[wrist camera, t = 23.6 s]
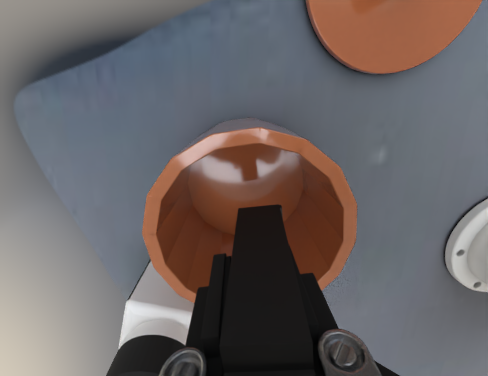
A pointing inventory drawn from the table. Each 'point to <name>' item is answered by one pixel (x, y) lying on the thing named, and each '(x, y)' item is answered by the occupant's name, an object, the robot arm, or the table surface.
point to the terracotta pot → (247, 202)
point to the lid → (388, 30)
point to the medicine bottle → (151, 327)
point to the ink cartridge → (264, 302)
